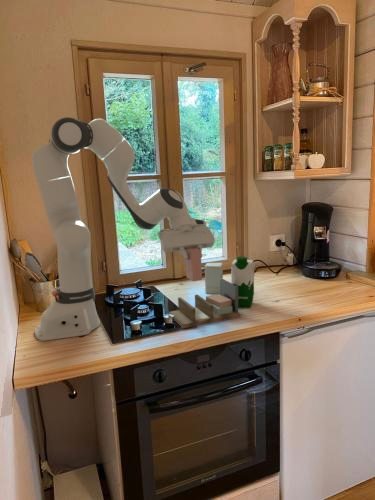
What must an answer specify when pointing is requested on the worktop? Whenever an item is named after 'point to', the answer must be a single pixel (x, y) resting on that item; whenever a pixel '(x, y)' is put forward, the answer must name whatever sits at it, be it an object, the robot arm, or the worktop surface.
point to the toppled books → (220, 304)
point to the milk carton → (243, 280)
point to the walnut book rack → (198, 313)
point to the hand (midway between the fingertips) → (194, 257)
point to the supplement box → (213, 277)
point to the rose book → (193, 264)
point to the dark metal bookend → (230, 293)
